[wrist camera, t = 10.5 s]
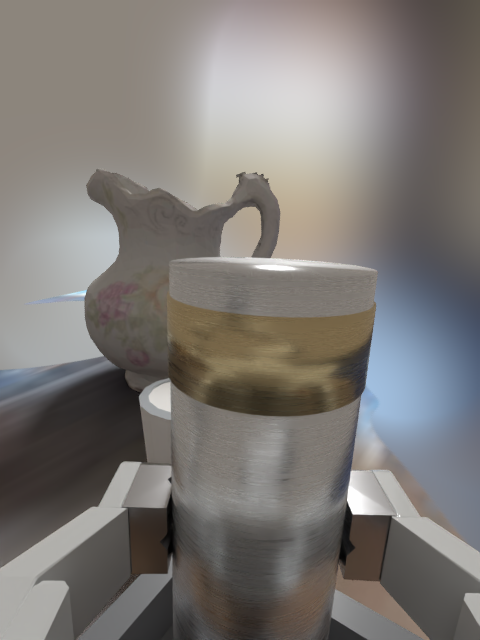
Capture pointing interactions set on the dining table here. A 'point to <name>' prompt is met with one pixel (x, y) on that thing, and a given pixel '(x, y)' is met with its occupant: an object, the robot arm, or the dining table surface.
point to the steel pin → (262, 439)
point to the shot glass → (157, 421)
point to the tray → (157, 616)
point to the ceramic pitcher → (158, 264)
